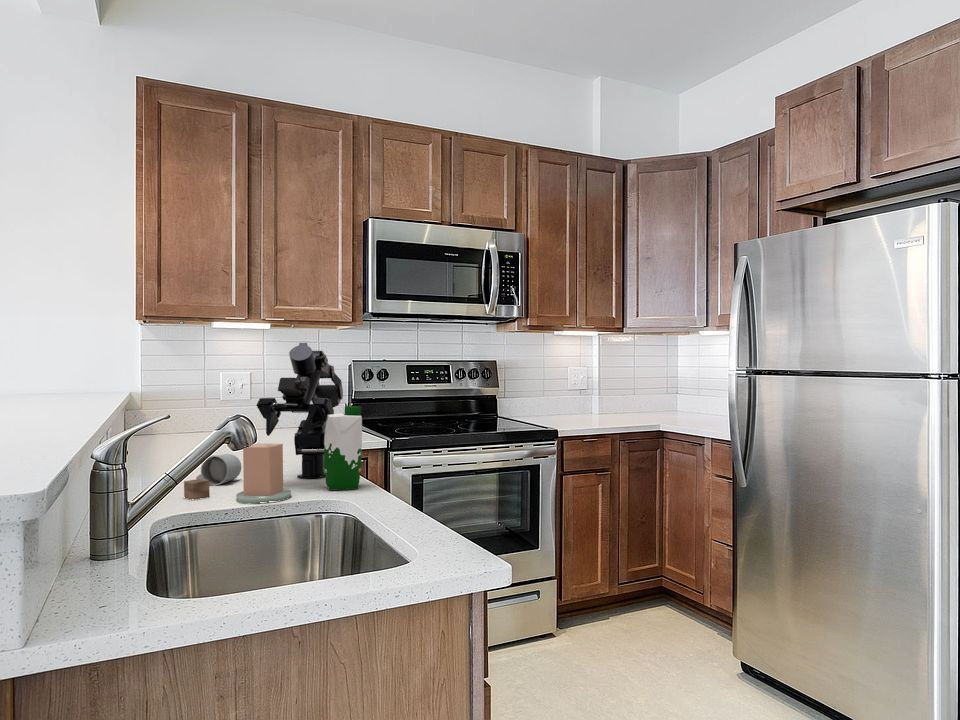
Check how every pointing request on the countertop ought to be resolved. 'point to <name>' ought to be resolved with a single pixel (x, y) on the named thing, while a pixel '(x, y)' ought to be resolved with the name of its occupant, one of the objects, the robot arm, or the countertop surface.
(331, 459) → the milk carton
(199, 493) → the block
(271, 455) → the pinkish brown brick
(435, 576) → the countertop surface
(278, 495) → the dish
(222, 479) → the ceramic mug
